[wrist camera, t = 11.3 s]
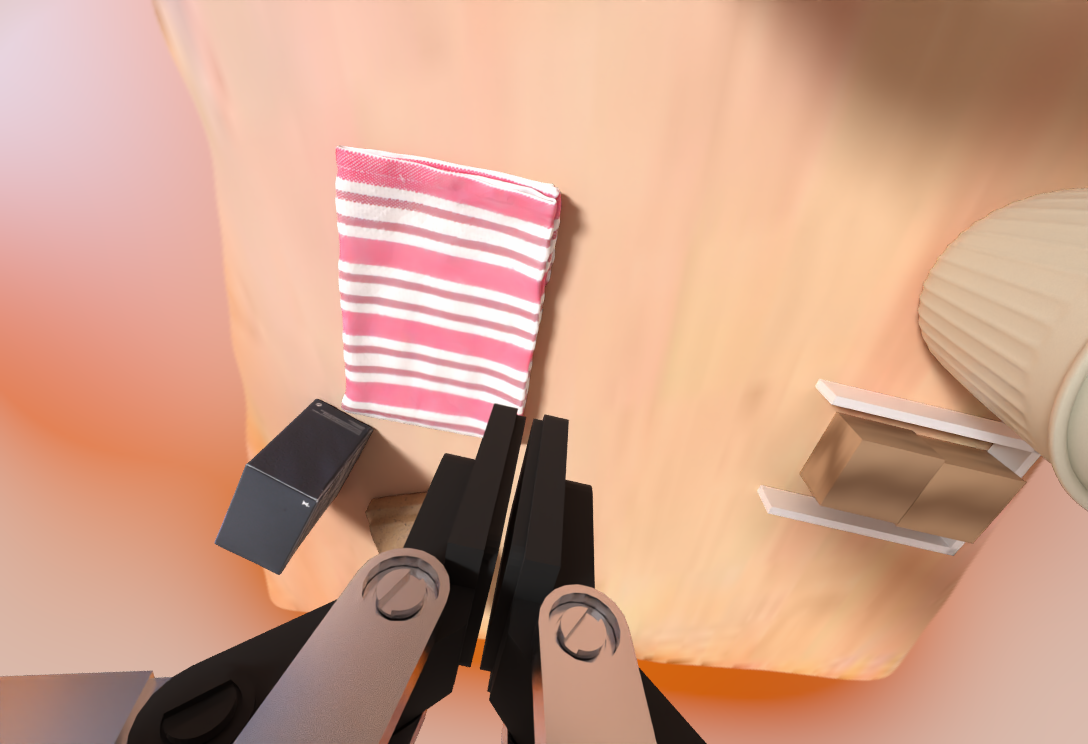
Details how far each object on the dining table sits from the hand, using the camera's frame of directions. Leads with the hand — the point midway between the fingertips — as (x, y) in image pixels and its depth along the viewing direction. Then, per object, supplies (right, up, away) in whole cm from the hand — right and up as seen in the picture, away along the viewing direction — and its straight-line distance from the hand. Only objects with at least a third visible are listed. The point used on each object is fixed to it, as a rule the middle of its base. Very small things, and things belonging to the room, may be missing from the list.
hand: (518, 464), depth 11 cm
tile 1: (+29, -5, +33) cm, 44 cm away
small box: (-21, -5, +37) cm, 43 cm away
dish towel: (-8, +7, +30) cm, 32 cm away
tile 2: (+36, -7, +33) cm, 49 cm away
